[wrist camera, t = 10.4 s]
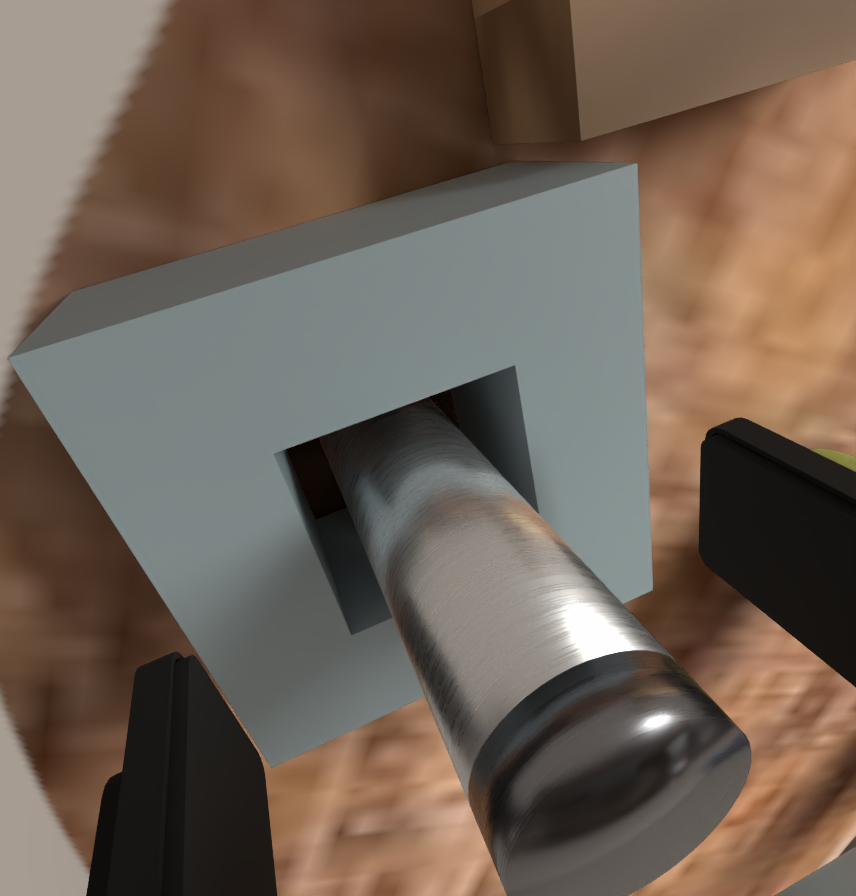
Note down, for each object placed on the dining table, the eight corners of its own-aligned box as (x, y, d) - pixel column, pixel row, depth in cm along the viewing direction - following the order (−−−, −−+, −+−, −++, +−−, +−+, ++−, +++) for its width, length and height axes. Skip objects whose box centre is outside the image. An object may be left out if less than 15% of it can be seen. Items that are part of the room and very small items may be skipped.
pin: (299, 386, 16) (480, 818, 5) (409, 348, 16) (760, 673, 6) (335, 482, 17) (527, 953, 7) (434, 444, 18) (743, 828, 8)
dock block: (71, 291, 13) (7, 358, 9) (514, 160, 15) (637, 163, 11) (255, 627, 18) (271, 768, 14) (559, 500, 20) (652, 590, 16)
